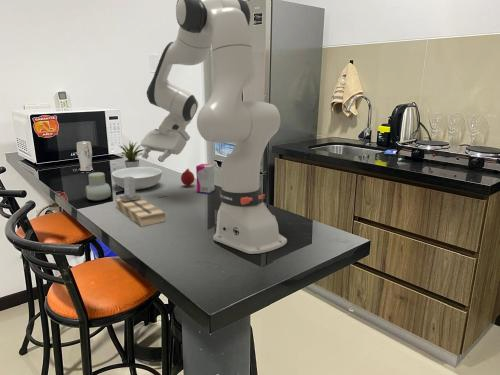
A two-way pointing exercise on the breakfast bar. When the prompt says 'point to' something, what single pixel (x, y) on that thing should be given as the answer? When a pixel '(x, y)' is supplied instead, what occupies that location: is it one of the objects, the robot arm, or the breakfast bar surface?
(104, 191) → the air freshener
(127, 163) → the house plant
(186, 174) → the onion
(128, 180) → the grey upright piece
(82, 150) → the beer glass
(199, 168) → the supplement box
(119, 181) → the serving bowl
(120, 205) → the tan flat bar
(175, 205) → the breakfast bar surface
